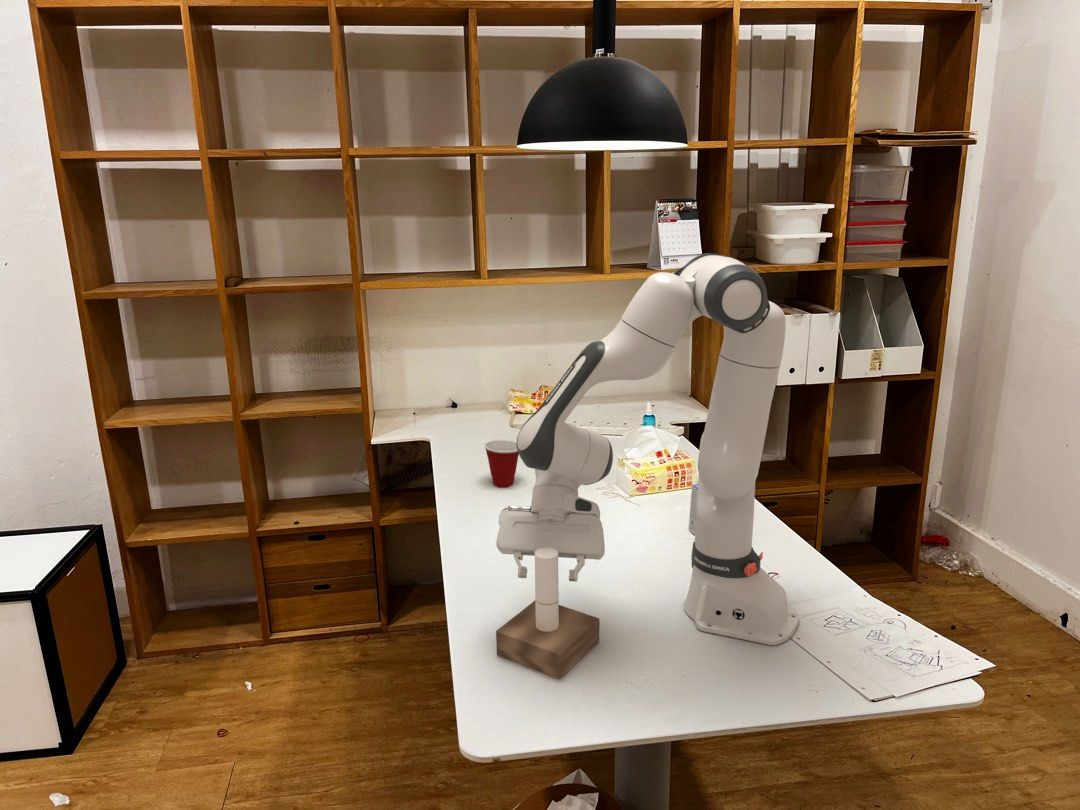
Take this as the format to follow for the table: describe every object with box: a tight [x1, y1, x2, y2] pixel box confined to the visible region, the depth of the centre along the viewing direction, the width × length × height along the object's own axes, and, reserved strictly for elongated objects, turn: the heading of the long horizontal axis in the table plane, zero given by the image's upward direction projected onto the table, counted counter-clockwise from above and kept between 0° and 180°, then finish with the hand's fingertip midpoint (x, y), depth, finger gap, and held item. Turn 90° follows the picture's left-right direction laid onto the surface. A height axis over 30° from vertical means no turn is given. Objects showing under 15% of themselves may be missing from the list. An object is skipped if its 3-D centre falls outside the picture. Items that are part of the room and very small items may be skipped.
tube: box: [534, 547, 560, 632], centre depth 148 cm, size 4×4×15 cm
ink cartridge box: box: [688, 483, 698, 536], centre depth 194 cm, size 10×6×14 cm, turn 15°
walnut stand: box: [495, 600, 601, 680], centre depth 151 cm, size 14×14×5 cm
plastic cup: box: [483, 439, 520, 489], centre depth 228 cm, size 11×11×12 cm
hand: (547, 579), depth 147 cm, fingers open, 8 cm apart
